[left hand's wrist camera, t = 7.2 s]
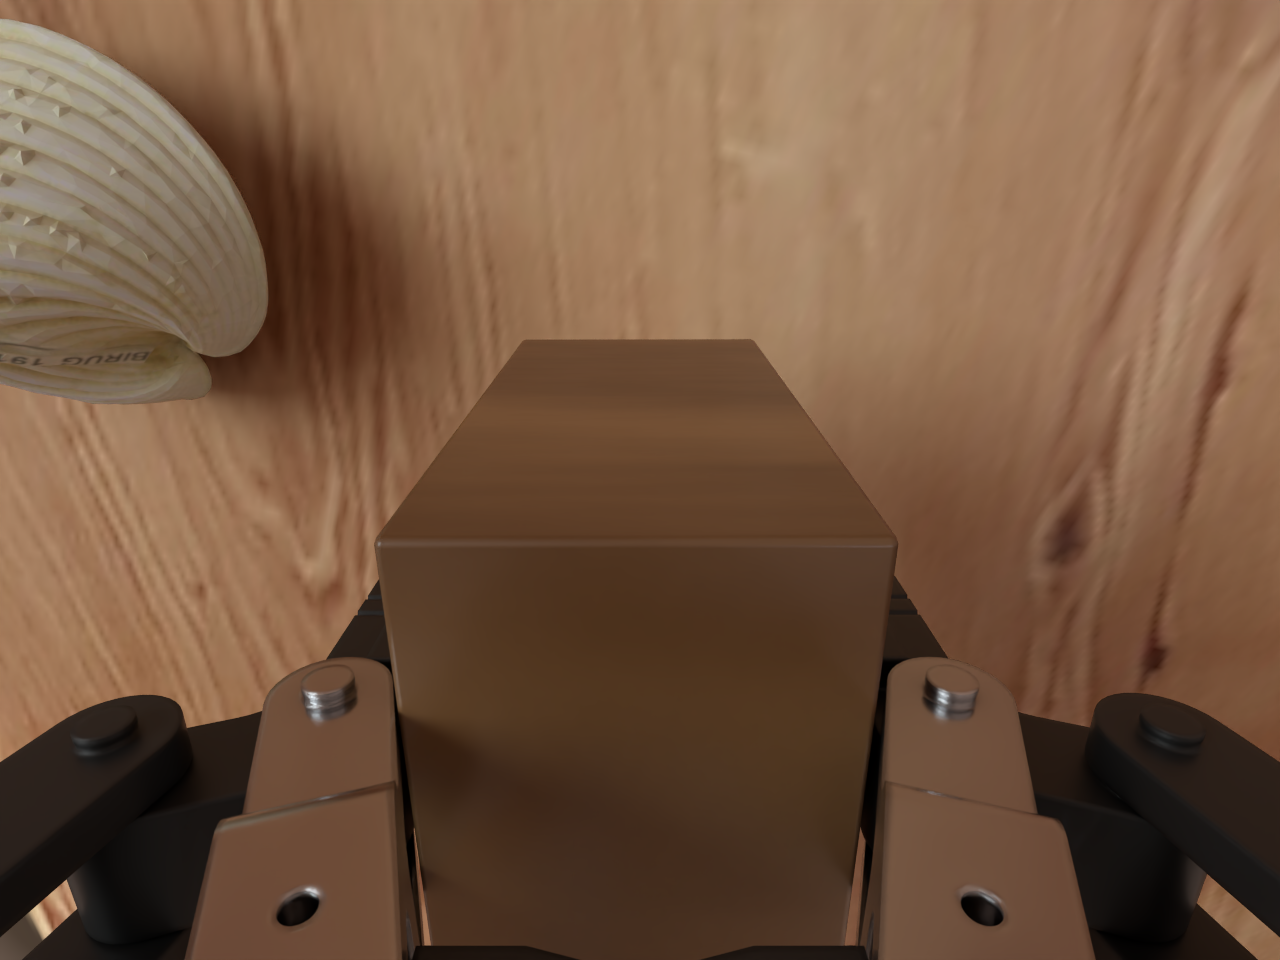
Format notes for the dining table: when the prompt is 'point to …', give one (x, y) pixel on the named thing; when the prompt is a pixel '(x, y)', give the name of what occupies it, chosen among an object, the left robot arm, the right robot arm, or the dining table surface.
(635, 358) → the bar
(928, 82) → the dining table surface
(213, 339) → the seashell
